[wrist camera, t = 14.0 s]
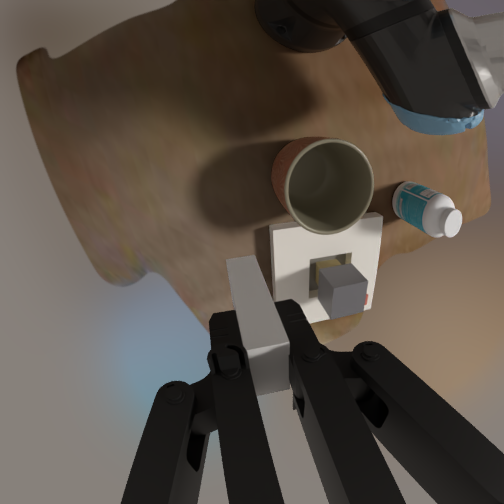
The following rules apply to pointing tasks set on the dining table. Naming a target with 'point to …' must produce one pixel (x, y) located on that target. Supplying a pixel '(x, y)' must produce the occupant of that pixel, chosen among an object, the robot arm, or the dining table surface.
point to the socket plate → (321, 249)
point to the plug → (340, 288)
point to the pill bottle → (426, 209)
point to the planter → (323, 183)
